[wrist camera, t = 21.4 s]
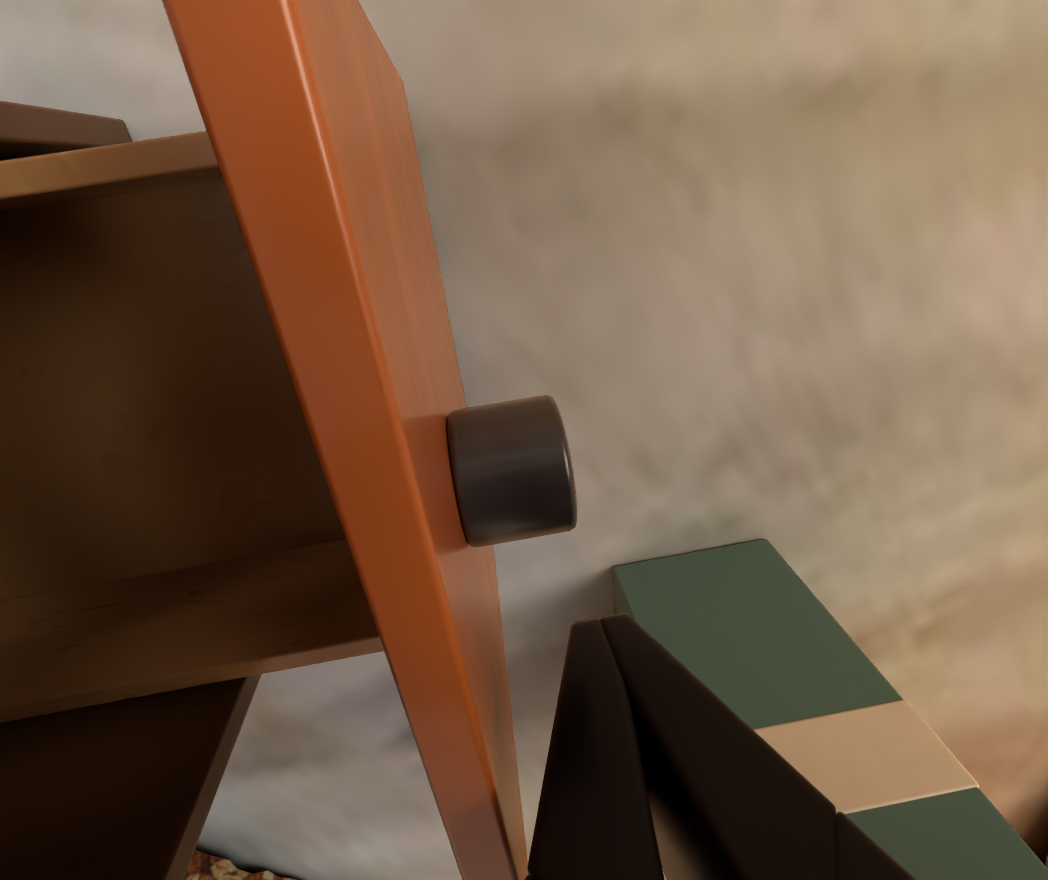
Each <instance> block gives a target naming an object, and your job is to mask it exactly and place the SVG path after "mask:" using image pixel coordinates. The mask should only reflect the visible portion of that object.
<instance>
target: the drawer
mask: <svg viewBox="0 0 1048 880" xmlns="http://www.w3.org/2000/svg"><path fill="white" fill-rule="evenodd" d="M162 2H163V5H164V8H165V11H166V14H167V17H168V20H169V22H170V25H171V28H172V31H173V34H174V37H175V40H176V43H177V46H178V49H179V52H180V55H181V58H182V60H183V63H184V66H185V69H186V72H187V75H188V78H189V81H190V84H191V87H192V90H193V93H194V96H195V98H196V101H197V104H198V107H199V110H200V113H201V116H202V119H203V122H204V125H205V128H206V131H205V132H198V133H191V134H184V135H177V136H170V137H163V138H156V139H149V140H142V141H135V142H129V143H122V144H115V145H108V146H101V147H94V148H87V149H80V150H73V151H66V152H59V153H52V154H45V155H38V156H31V157H24V158H17V159H10V160H3V161H0V723H2V722H7V721H13V720H18V719H23V718H29V717H34V716H39V715H45V714H50V713H55V712H61V711H66V710H71V709H77V708H82V707H87V706H93V705H98V704H103V703H109V702H114V701H119V700H125V699H130V698H135V697H141V696H146V695H151V694H157V693H162V692H167V691H172V690H178V689H183V688H188V687H194V686H199V685H204V684H210V683H215V682H220V681H226V680H231V679H236V678H242V677H247V676H252V675H258V674H263V673H268V672H274V671H279V670H284V669H290V668H295V667H300V666H306V665H311V664H316V663H322V662H327V661H332V660H338V659H343V658H348V657H354V656H359V655H364V654H370V653H375V652H380V651H385V654H386V657H387V660H388V663H389V666H390V669H391V672H392V675H393V678H394V680H395V683H396V686H397V689H398V692H399V695H400V698H401V701H402V704H403V707H404V710H405V713H406V716H407V718H408V721H409V724H410V727H411V730H412V733H413V736H414V739H415V742H416V745H417V748H418V751H419V754H420V757H421V759H422V762H423V765H424V768H425V771H426V774H427V777H428V780H429V783H430V786H431V789H432V792H433V795H434V797H435V800H436V803H437V806H438V809H439V812H440V815H441V818H442V821H443V824H444V827H445V830H446V833H447V835H448V838H449V841H450V844H451V847H452V850H453V853H454V856H455V859H456V862H457V865H458V868H459V871H460V874H461V876H462V879H463V880H525V878H526V876H527V875H528V870H527V868H528V861H527V852H526V843H525V834H524V825H523V815H522V806H521V797H520V788H519V779H518V769H517V760H516V751H515V742H514V733H513V723H512V714H511V705H510V696H509V687H508V677H507V668H506V659H505V650H504V641H503V631H502V622H501V613H500V604H499V595H498V585H497V576H496V567H495V558H494V549H493V545H494V544H500V543H505V542H511V541H516V540H522V539H527V538H533V537H539V536H544V535H550V534H555V533H561V532H566V531H570V530H572V529H573V528H575V526H576V521H577V500H576V490H575V482H574V475H573V469H572V463H571V457H570V452H569V447H568V442H567V438H566V433H565V429H564V425H563V421H562V418H561V415H560V412H559V409H558V406H557V404H556V402H555V401H554V399H553V398H552V397H551V396H548V395H542V396H536V397H531V398H525V399H519V400H513V401H507V402H501V403H495V404H489V405H483V406H477V407H471V408H467V407H466V402H465V397H464V392H463V386H462V381H461V376H460V371H459V366H458V361H457V356H456V351H455V346H454V341H453V335H452V330H451V325H450V320H449V315H448V310H447V305H446V300H445V295H444V289H443V284H442V279H441V274H440V269H439V264H438V259H437V254H436V249H435V244H434V238H433V233H432V228H431V223H430V218H429V213H428V208H427V203H426V198H425V192H424V187H423V182H422V177H421V172H420V167H419V162H418V157H417V152H416V147H415V141H414V136H413V131H412V126H411V121H410V116H409V111H408V106H407V101H406V95H405V90H404V85H403V81H402V79H401V77H400V76H399V74H398V72H397V70H396V68H395V67H394V65H393V63H392V61H391V59H390V57H389V56H388V54H387V52H386V50H385V48H384V47H383V45H382V43H381V41H380V39H379V38H378V36H377V34H376V32H375V30H374V29H373V27H372V25H371V23H370V21H369V19H368V18H367V16H366V14H365V12H364V10H363V9H362V7H361V5H360V3H359V1H358V0H162Z"/></svg>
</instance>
